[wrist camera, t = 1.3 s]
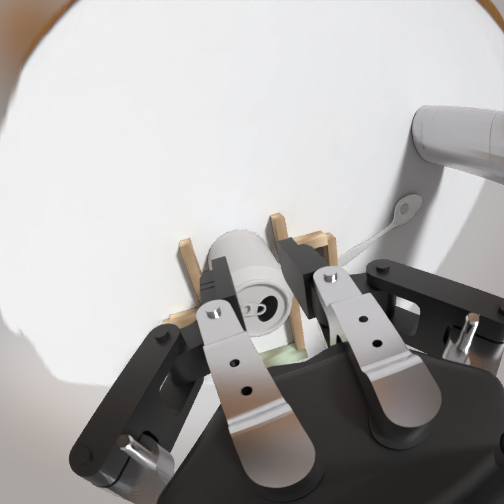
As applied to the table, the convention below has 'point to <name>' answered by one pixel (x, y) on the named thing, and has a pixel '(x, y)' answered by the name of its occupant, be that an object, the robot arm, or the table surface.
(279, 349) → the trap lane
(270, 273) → the can
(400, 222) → the spoon
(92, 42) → the table surface
